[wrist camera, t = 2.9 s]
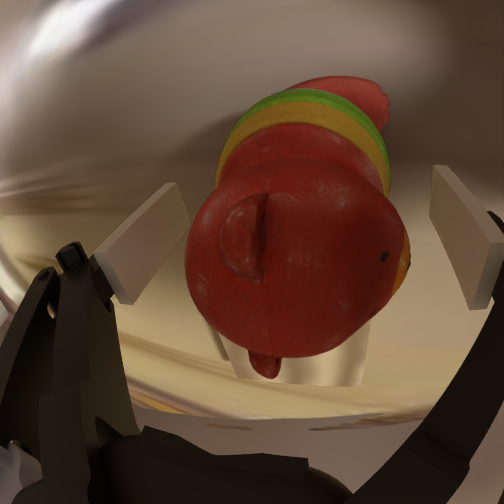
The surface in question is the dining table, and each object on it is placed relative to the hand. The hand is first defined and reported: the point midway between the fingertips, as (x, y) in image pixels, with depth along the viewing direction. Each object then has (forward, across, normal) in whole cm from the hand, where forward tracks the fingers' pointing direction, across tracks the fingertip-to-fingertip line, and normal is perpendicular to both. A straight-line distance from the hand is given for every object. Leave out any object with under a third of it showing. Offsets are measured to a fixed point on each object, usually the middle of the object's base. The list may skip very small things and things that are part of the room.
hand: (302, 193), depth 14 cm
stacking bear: (+10, 0, 0) cm, 10 cm away
